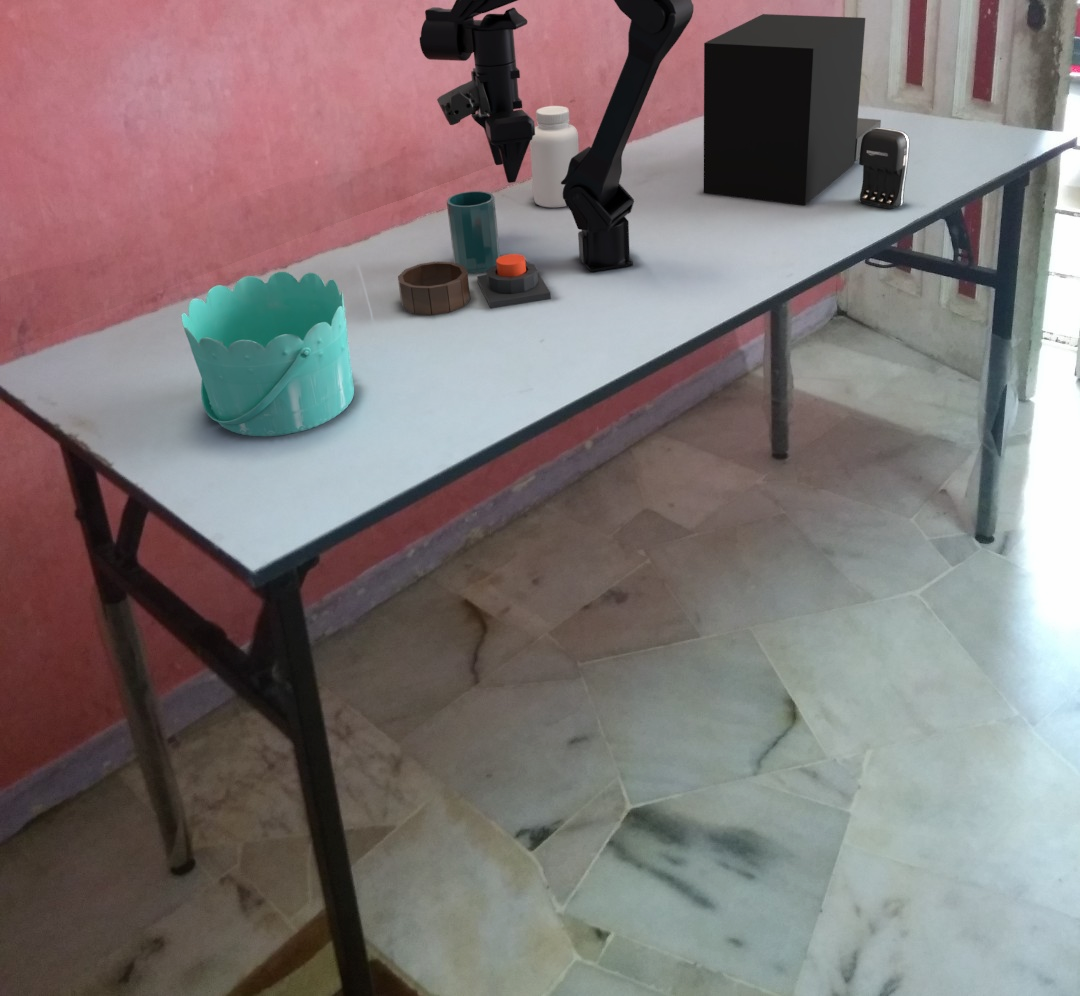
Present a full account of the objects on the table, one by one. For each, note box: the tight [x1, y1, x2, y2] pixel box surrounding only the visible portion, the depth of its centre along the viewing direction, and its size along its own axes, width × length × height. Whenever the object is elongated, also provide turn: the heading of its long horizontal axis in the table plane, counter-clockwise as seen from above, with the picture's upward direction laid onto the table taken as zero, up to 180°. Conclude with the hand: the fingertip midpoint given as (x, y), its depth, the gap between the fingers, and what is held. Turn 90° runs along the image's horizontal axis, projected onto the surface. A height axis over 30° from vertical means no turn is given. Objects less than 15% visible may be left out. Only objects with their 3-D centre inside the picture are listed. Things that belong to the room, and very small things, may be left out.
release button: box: [496, 253, 526, 277], centre depth 159 cm, size 4×4×2 cm
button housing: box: [476, 261, 552, 309], centre depth 160 cm, size 10×8×3 cm
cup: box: [446, 190, 501, 274], centre depth 167 cm, size 7×7×10 cm
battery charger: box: [858, 127, 911, 209], centre depth 176 cm, size 7×4×11 cm, turn 45°
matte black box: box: [702, 13, 882, 206], centre depth 191 cm, size 18×35×24 cm, turn 148°
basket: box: [180, 271, 355, 437], centre depth 133 cm, size 19×18×13 cm
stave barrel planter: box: [397, 261, 471, 316], centre depth 158 cm, size 9×9×4 cm
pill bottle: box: [529, 105, 580, 208], centre depth 188 cm, size 8×8×15 cm
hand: (505, 173), depth 167 cm, fingers open, 9 cm apart
